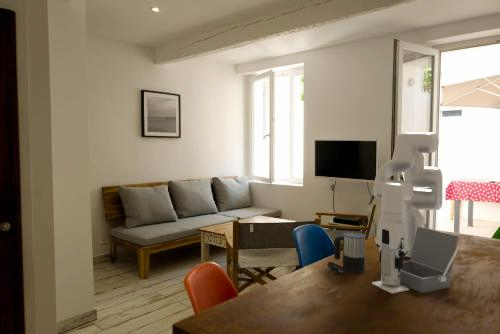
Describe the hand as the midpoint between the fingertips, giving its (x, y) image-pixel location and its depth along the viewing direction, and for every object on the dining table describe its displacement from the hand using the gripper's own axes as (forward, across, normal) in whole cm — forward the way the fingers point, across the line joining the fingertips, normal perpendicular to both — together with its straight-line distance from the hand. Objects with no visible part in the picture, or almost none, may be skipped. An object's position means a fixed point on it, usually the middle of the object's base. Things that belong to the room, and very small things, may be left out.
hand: (390, 264), depth 137 cm
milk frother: (+9, -21, -3) cm, 23 cm away
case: (+8, +1, +15) cm, 17 cm away
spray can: (+7, 0, 0) cm, 7 cm away
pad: (+8, 0, 0) cm, 8 cm away
